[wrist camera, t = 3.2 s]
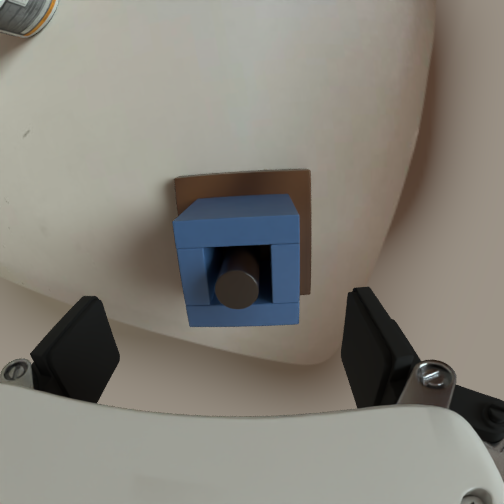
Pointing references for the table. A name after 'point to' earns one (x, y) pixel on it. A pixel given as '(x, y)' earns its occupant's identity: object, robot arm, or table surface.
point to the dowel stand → (248, 257)
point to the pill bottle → (25, 16)
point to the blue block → (240, 234)
